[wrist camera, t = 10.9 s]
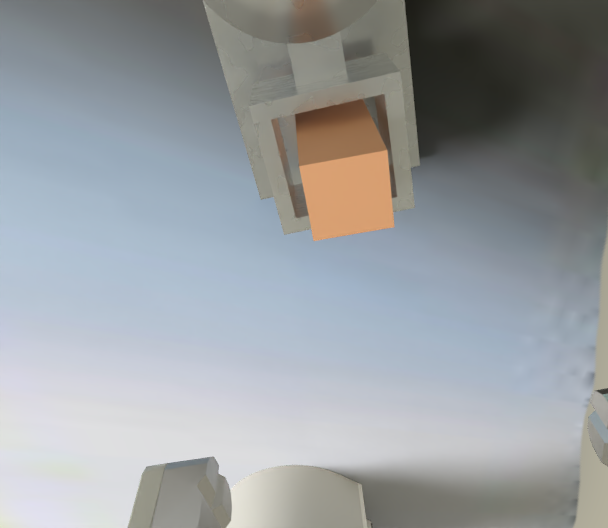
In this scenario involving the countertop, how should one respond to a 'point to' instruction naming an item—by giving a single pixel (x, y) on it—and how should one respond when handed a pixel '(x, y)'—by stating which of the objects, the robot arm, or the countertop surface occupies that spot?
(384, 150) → the orange rectangular block
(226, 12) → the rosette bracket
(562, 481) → the countertop surface
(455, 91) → the countertop surface
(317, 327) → the countertop surface
